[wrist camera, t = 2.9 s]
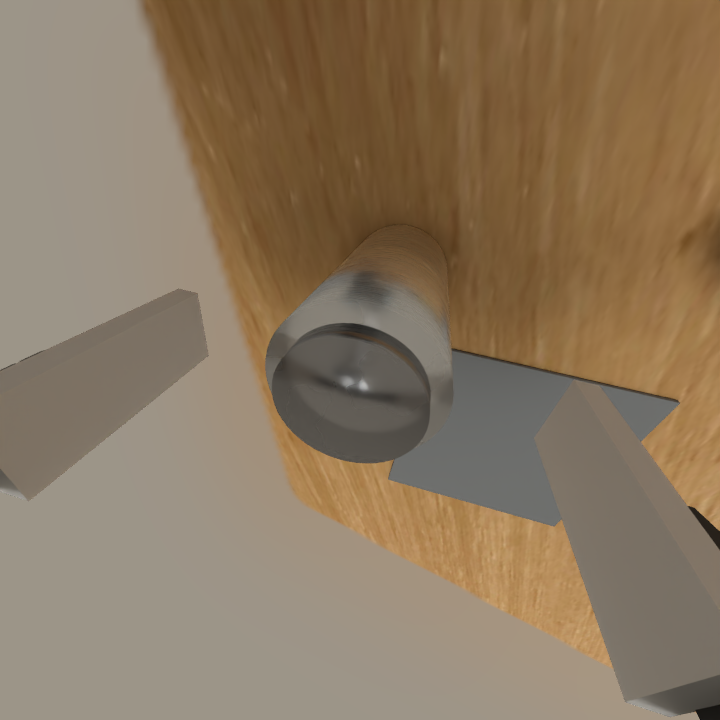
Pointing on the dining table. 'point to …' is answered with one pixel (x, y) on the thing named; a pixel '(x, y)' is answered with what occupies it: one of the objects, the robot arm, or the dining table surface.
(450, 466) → the mat
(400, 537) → the dining table surface
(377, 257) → the shaker
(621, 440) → the robot arm
